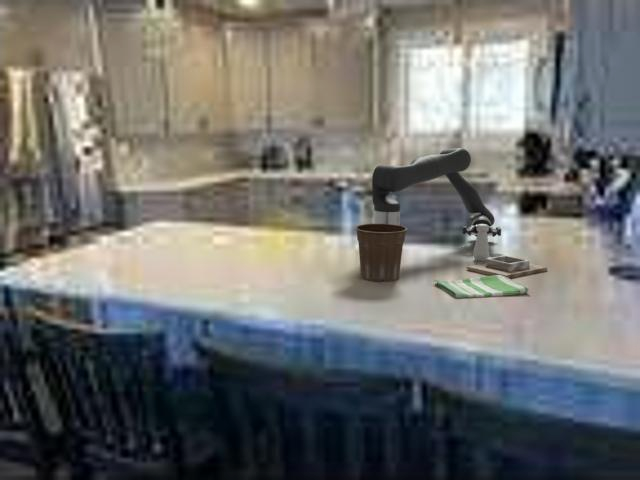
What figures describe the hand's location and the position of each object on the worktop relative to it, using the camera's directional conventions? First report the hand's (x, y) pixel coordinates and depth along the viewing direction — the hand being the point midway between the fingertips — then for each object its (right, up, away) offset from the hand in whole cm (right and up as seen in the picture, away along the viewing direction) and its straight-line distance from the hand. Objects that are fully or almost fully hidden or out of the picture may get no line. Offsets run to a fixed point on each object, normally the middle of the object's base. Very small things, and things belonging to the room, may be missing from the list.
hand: (481, 233), depth 262 cm
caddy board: (+3, -13, -25) cm, 29 cm away
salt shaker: (-2, -10, -9) cm, 14 cm away
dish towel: (-12, -18, -52) cm, 56 cm away
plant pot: (-41, -15, -39) cm, 59 cm away
